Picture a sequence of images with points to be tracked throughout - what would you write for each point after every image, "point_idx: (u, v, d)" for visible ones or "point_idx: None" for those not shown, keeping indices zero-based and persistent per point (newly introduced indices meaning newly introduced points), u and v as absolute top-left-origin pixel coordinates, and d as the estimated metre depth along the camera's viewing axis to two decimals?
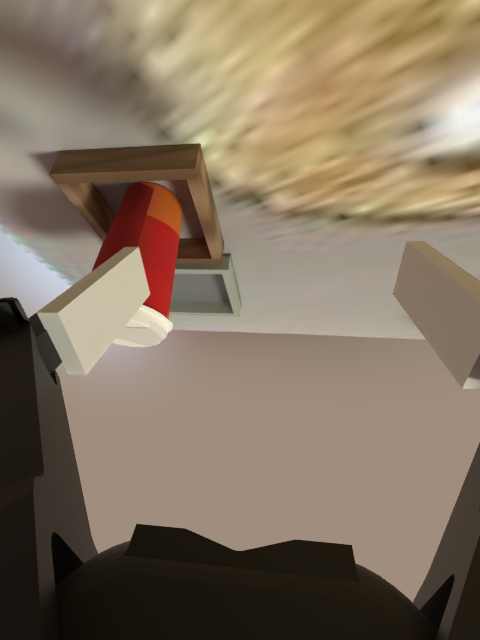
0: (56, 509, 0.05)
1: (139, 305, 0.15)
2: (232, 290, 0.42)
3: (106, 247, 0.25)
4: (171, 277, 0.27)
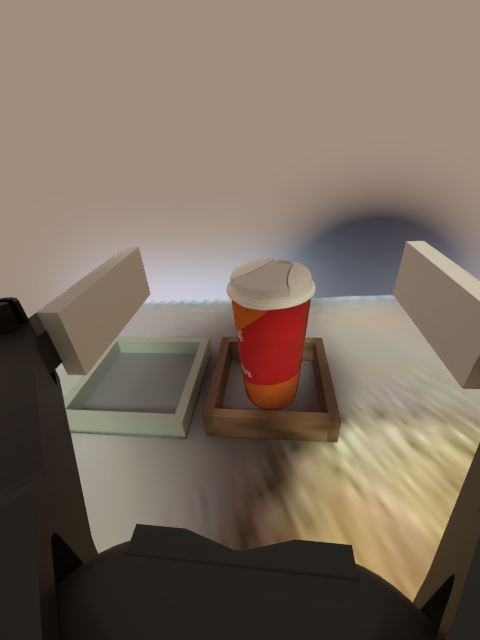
0: (56, 509, 0.05)
1: (139, 305, 0.15)
2: (131, 419, 0.29)
3: None
4: (269, 347, 0.26)
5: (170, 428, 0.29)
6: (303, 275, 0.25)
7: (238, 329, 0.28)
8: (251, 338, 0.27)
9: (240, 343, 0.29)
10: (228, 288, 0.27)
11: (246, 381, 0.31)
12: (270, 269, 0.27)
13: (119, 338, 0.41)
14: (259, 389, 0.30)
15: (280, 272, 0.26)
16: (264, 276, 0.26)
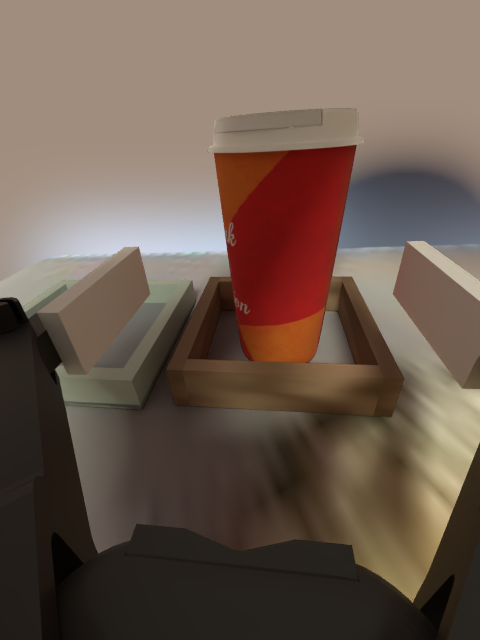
0: (56, 509, 0.05)
1: (139, 305, 0.15)
2: None
3: None
4: (280, 247, 0.15)
5: (114, 391, 0.17)
6: None
7: (227, 223, 0.16)
8: (249, 231, 0.15)
9: (231, 252, 0.17)
10: (210, 146, 0.15)
11: (241, 324, 0.20)
12: None
13: (69, 281, 0.30)
14: (261, 334, 0.19)
15: None
16: None
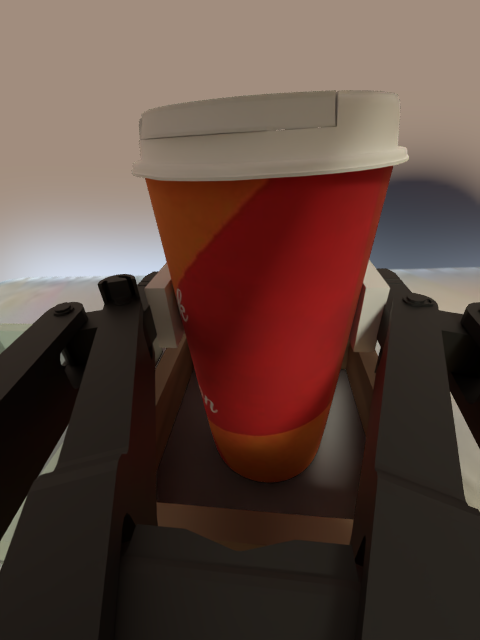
0: (132, 488, 0.05)
1: None
2: None
3: None
4: (258, 337, 0.09)
5: None
6: None
7: (174, 287, 0.10)
8: (205, 309, 0.09)
9: (185, 328, 0.11)
10: (139, 161, 0.09)
11: (209, 418, 0.14)
12: None
13: (1, 326, 0.23)
14: (236, 442, 0.13)
15: None
16: None
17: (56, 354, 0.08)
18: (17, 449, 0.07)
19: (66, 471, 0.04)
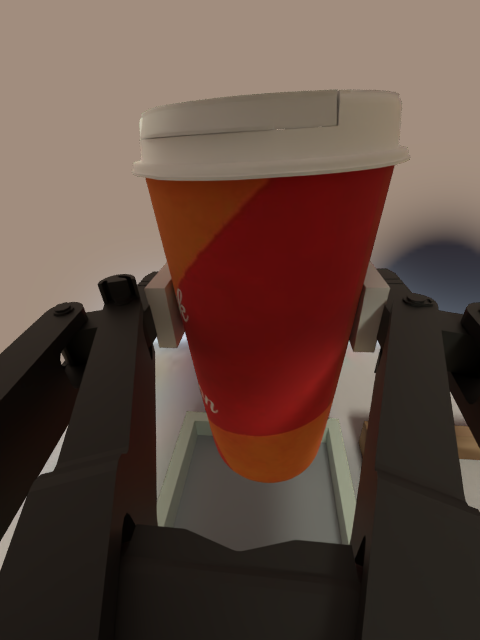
0: (132, 488, 0.05)
1: None
2: None
3: None
4: (259, 338, 0.09)
5: None
6: None
7: (175, 287, 0.10)
8: (205, 309, 0.09)
9: (185, 328, 0.11)
10: (140, 160, 0.09)
11: (209, 419, 0.14)
12: None
13: (196, 414, 0.27)
14: (237, 442, 0.12)
15: None
16: None
17: (56, 354, 0.08)
18: (17, 449, 0.07)
19: (66, 471, 0.04)
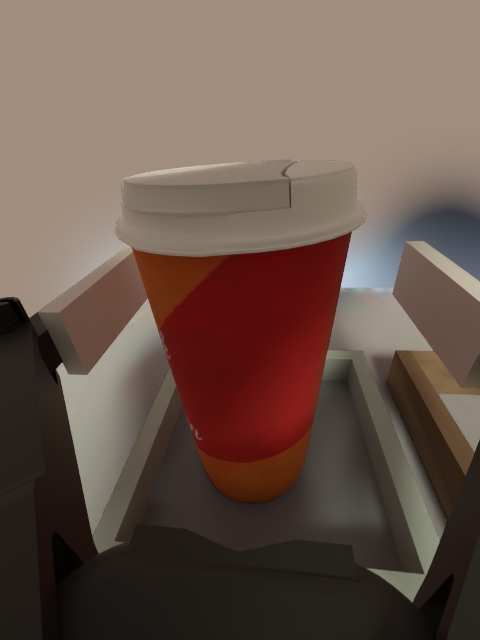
0: (57, 509, 0.05)
1: (139, 305, 0.15)
2: None
3: None
4: (234, 379, 0.09)
5: None
6: (332, 165, 0.08)
7: (158, 328, 0.11)
8: (184, 353, 0.10)
9: (169, 363, 0.12)
10: (123, 215, 0.10)
11: (195, 443, 0.14)
12: (238, 167, 0.10)
13: None
14: (221, 467, 0.13)
15: (264, 167, 0.09)
16: (217, 172, 0.09)
17: None
18: None
19: None
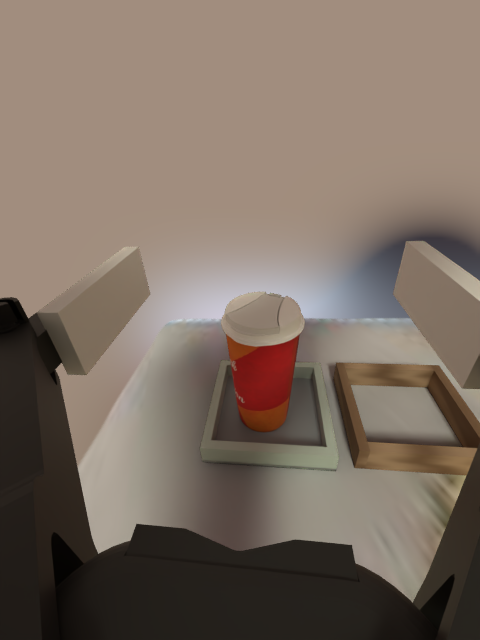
0: (56, 509, 0.05)
1: (139, 305, 0.15)
2: (284, 451, 0.29)
3: None
4: (261, 378, 0.28)
5: (323, 461, 0.29)
6: (293, 312, 0.27)
7: (232, 359, 0.29)
8: (244, 369, 0.28)
9: (233, 371, 0.30)
10: (222, 321, 0.28)
11: (239, 405, 0.33)
12: (262, 303, 0.29)
13: (227, 361, 0.41)
14: (251, 414, 0.32)
15: (271, 307, 0.28)
16: (256, 312, 0.27)
17: None
18: None
19: None
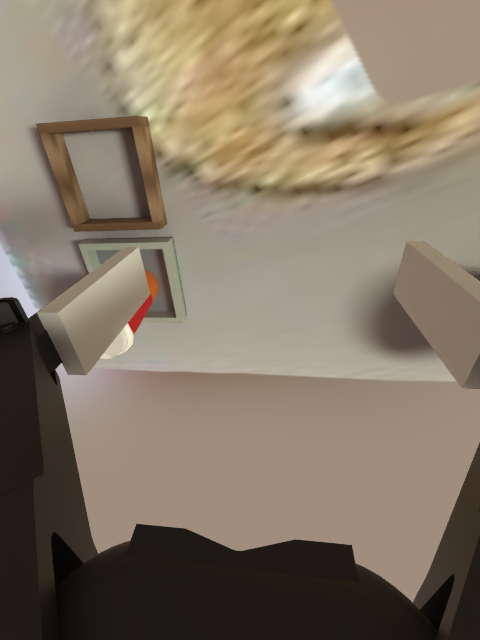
0: (56, 509, 0.05)
1: (139, 305, 0.15)
2: (173, 275, 0.45)
3: None
4: (140, 312, 0.40)
5: (171, 248, 0.43)
6: None
7: None
8: (138, 325, 0.41)
9: None
10: None
11: None
12: None
13: None
14: (153, 299, 0.46)
15: None
16: None
17: None
18: None
19: None
